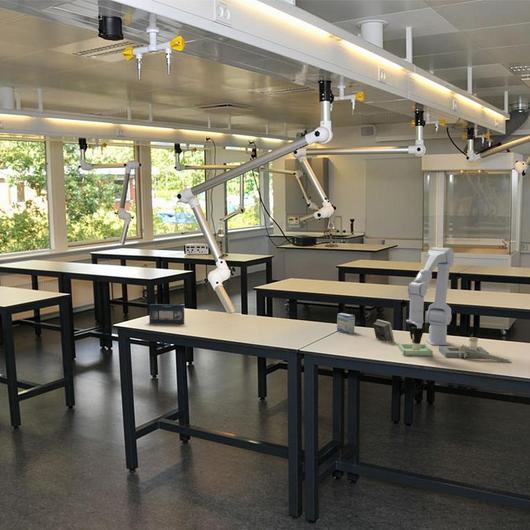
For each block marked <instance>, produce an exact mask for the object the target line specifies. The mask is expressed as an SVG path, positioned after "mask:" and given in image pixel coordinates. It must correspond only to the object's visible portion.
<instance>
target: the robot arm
mask: <svg viewBox="0 0 530 530" xmlns="http://www.w3.org/2000/svg"><path fill="white" fill-rule="evenodd" d="M454 256H455V252H454V250H453V248H452V247H439V246H438V247H435V246H430V248H429V249H428V251H427V258H428V259H427V261H426V263H425V266H424V268H423V269H420V271H419V272H418V273H417V275H416V276H415V278H414V280H413V281H411V282H410V283H409V284H408V287H407V294H408V299H409V317H408V319H406V325H407V326H408V330H409V334H410V335H409V336H410V340H412V338H413V337H412V335H414V342H415V344H421V341H422V338H423V334H424V333H425V331H426V328H425V327H423V323H424V308H425V307H424V304H425V303H424V301H425V300H424V299H425V296H426V295H427V292H428V291H427V290H428V285H429V283H430V282H431V280H432V277H433V274H432V273H433V271H434V270H435V269H436V268H437V276H436V285H435V293H434V302H433V303H431V304H429V306H428V310H427V312H426V320H427V321H428V323H429V324H430V325H429V328H428V338H426V341H427V342H428V343H429V344H430V345H432V346H449V345H450V344H449V342H447V335H448V334H447V333H448V332H447V329H448V325H449V324H450V323H451V322H452V317H453V316H452V308H451V307H450V306H449V304H447V297H448V296H447V295H448V284H449V276H450V267H453V264H454V260H455V259H454Z"/></svg>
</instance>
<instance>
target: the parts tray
mask: <svg viewBox="0 0 530 530" xmlns="http://www.w3.org/2000/svg"><path fill="white" fill-rule="evenodd" d="M397 347H398V348H399V349H400V350H399V349H398V350H399V351H400V353H401V352H402V353H403V354H402V353H401V354H402V355H403V356H404V355H412V356H411V357H433V352H434V351H433V350H432V348H430V347H429V345H427V344H426V343H420V350H412V343H398V346H397Z"/></svg>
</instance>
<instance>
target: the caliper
mask: <svg viewBox="0 0 530 530" xmlns="http://www.w3.org/2000/svg"><path fill="white" fill-rule="evenodd" d="M465 347H467V345H466V344H465V345H464V344H462V345H461V347H460V350H459V357H458V358H459V359H461V358H460V357H461V354H462V351H463V352H465V354H464V358H465V357H466V356H467V355H468V354H470V355H472V356H475V357H476V355H478V356H482V357H486V358H485V359H490V360H494V361H498V362H502V363H507V364H508V363H511V364H512V361H511V360H509V359H508V358H506V357H505V358H504V357H501V356H497V355H493V354H490V353H489V354H486V353H482V352H478V350H475V349H471V348H465ZM465 359H466V358H465Z"/></svg>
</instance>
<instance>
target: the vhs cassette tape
mask: <svg viewBox="0 0 530 530" xmlns="http://www.w3.org/2000/svg"><path fill="white" fill-rule="evenodd" d="M148 307H149V310H148V315H149V316H148V317H149V318H148V319H149V324H167V325H168V324H169V325H170V324H171V325H184V324H185V304H171V303H170V304H168V303H167V304H166V303H165V304H162V303H150V304H149V305H148Z"/></svg>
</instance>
